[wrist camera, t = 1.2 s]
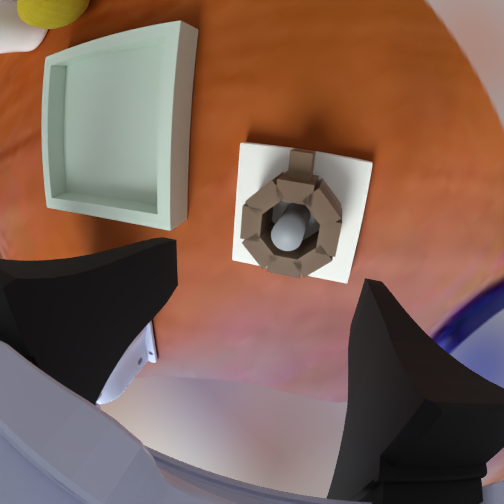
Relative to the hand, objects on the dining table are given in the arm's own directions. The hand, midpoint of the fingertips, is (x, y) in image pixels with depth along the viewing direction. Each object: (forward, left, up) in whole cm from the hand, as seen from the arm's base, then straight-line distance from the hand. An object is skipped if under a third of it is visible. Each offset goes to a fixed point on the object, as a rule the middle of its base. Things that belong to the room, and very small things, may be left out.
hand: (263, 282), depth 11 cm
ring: (0, 0, -9) cm, 9 cm away
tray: (+5, +15, -10) cm, 18 cm away
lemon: (+17, +20, -10) cm, 28 cm away
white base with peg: (0, 0, -10) cm, 10 cm away
